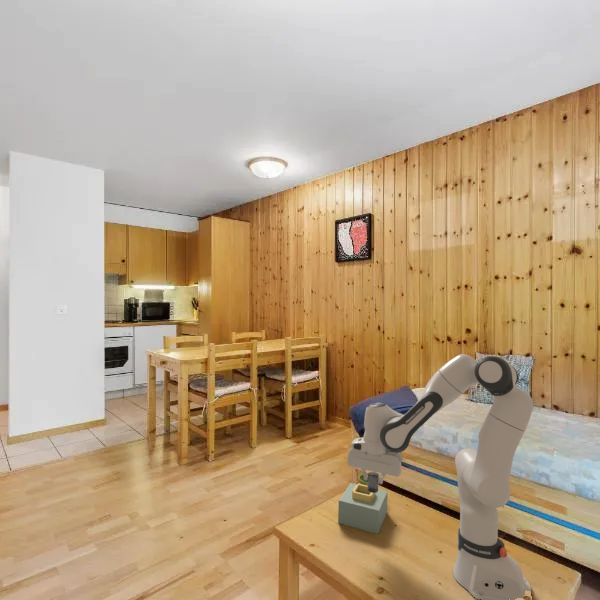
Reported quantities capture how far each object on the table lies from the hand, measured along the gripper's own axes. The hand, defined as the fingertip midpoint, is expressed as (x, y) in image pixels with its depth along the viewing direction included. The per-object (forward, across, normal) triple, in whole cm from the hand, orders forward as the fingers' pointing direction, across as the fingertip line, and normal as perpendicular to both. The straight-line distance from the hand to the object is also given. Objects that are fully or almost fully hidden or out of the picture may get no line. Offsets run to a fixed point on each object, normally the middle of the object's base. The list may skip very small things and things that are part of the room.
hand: (373, 481), depth 147 cm
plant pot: (+20, +7, -26) cm, 33 cm away
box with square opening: (+20, +5, -9) cm, 22 cm away
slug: (+3, 0, 0) cm, 3 cm away
